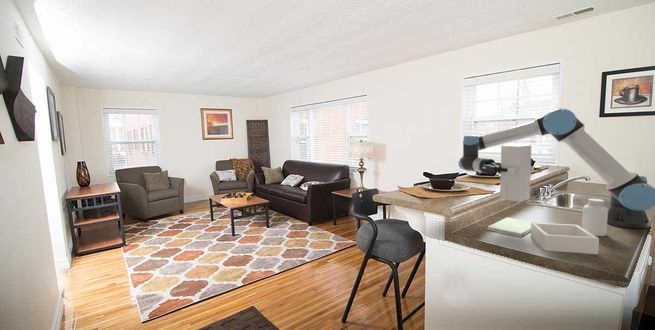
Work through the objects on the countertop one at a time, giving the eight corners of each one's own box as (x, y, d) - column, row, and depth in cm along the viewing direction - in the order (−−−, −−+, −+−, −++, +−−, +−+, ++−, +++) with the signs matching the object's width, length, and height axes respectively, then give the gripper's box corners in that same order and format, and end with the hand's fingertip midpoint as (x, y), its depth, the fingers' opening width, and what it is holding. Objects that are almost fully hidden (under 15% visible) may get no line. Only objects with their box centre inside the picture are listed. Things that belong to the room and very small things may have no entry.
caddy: (576, 238, 123) (577, 224, 123) (598, 254, 108) (598, 238, 107) (530, 236, 128) (531, 222, 128) (545, 250, 113) (545, 235, 112)
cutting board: (507, 220, 152) (507, 217, 152) (539, 226, 141) (539, 222, 141) (487, 229, 139) (487, 226, 139) (521, 237, 128) (521, 233, 127)
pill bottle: (611, 237, 124) (613, 201, 122) (589, 236, 125) (591, 201, 124) (598, 230, 132) (600, 197, 130) (577, 230, 133) (579, 197, 132)
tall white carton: (499, 198, 140) (501, 145, 137) (510, 196, 144) (511, 144, 141) (519, 201, 132) (521, 146, 130) (529, 199, 136) (531, 145, 134)
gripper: (501, 171, 157) (542, 176, 136) (466, 174, 151) (504, 180, 130) (501, 157, 157) (543, 160, 136) (466, 159, 150) (504, 163, 129)
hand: (524, 170), depth 133 cm, fingers closed on tall white carton, 10 cm apart
